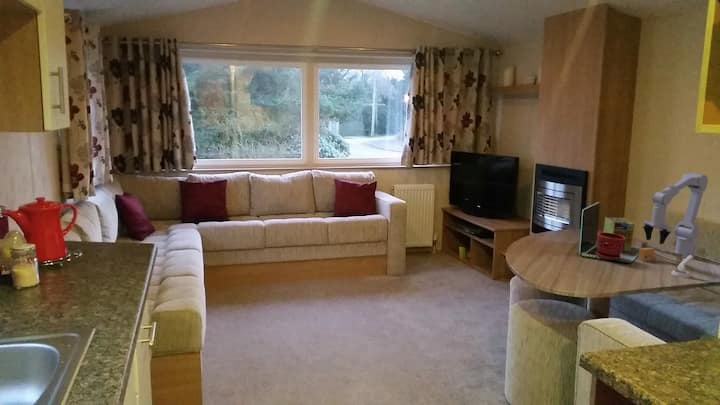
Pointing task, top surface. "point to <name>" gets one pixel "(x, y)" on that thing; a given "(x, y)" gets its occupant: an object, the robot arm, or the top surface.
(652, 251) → the block
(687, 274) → the hook
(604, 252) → the plant pot
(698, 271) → the top surface
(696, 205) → the robot arm
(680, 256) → the stand
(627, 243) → the protein box
